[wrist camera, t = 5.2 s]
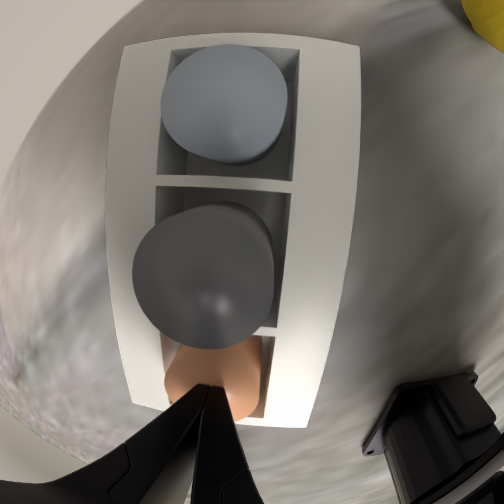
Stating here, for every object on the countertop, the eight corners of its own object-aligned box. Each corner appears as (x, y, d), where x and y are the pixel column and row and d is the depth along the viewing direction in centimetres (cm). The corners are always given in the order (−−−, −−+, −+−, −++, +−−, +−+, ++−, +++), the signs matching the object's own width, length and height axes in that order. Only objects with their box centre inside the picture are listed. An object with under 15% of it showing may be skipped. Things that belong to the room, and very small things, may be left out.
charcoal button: (268, 300, 9) (266, 356, 6) (176, 291, 9) (138, 337, 6) (277, 204, 8) (281, 217, 5) (177, 198, 8) (129, 208, 5)
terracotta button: (259, 375, 11) (254, 427, 8) (189, 366, 11) (169, 414, 8) (266, 314, 10) (263, 363, 7) (187, 305, 10) (159, 348, 7)
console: (337, 79, 8) (359, 46, 6) (300, 380, 12) (305, 427, 9) (158, 74, 9) (124, 46, 6) (156, 363, 12) (132, 402, 9)
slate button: (279, 169, 9) (283, 162, 6) (190, 164, 9) (154, 157, 6) (284, 85, 8) (290, 46, 5) (197, 83, 8) (169, 48, 5)
